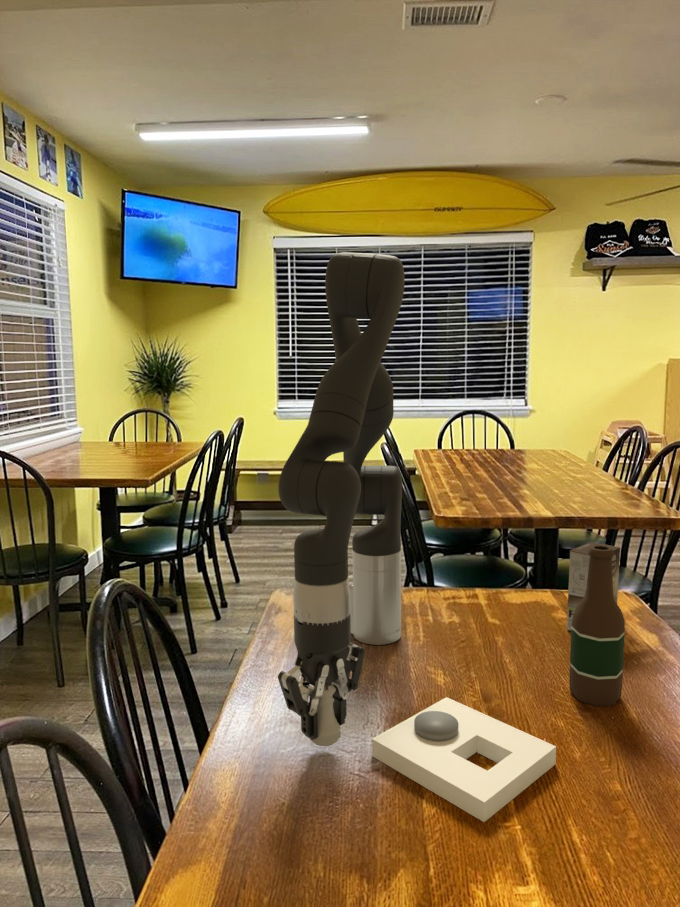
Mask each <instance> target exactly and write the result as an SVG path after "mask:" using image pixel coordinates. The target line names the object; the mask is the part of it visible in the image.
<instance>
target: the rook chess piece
mask: <svg viewBox="0 0 680 907" xmlns="http://www.w3.org/2000/svg"><path fill="white" fill-rule="evenodd" d="M312 687H313V688H315V686H312ZM335 691H336V688H335V687H334V686H333V682H329V683H327V684H326V685H325V686H324V690H323V695H322V697H321V698H319V701H318V706H317V711H316V713H318V738H316V739H314V740H311V739H310V738H309V740H310V741H311V742H312V744H314V745H316V746H320V747H328V746H329V747H330V746H333V745H334V744H336V743H337V742H338V741H339V739H340V738H341V737H342V734H341V726H340V725H339V723H338V722H337V719H336V718H335V715H334V710H333V702H334V698H333V696H332V695H333V694H334V693H335Z"/></svg>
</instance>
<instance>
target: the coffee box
mask: <svg viewBox="0 0 680 907" xmlns="http://www.w3.org/2000/svg"><path fill="white" fill-rule="evenodd" d="M598 545H602V546H607V547H610V548H611V549H613V551H614V556H613V557H612V573H613V594H614V600H615V601H616V603H617V604H618V598H619V596H618V595H619V594H618V593H619V580H620V576H619V575H620V559H621V558H620V557H621V547H620V546H615V545H610V544H609V545H608V544H605V543H596V542H592V541H590V542H588V543H585V544H583V545H580V546H577V547H575V548H573V549H570V550H569V565H568V566H569V568H568V590H567V592H568V594H567V597H568V598H567V611H566V612H567V618H566V630H567V631H570V632H571V625H572V617H573V613H574V611H575V609H576V607H577V605H578V604H579V603H580V601H581V600H582V599H583V598H584V596H585V592H586V588H587V579H588V570H589V560H590V555H589V554H588V551H589V549H590V547H592V546H598Z"/></svg>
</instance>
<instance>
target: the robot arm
mask: <svg viewBox="0 0 680 907" xmlns="http://www.w3.org/2000/svg"><path fill="white" fill-rule="evenodd" d="M324 279H325V282H324V284H325V285H324V286H325V287H324V288H325V300H326V305H327V306H326V307H327V312H328V317H329V319H328V320H329V325H330V330H331V337H332V342H333V348H334V356H335V357H334V358H335V361H334V363H333V364H332V365H331V366H330V367H329V368H328V370H327V371H326V373H324V375H323V377H321V380H320V381H319V383H318V386H317V388H316V393H315V396H314V400H313V405H312V408H311V411H310V415H309V417H308V418H309V419H308V422H307V426H306V428H305V429H304V431H303V433H302V434H301V435H300V437H299V439H298V441H297V443H296V445H295V447H294V448H293V450H292V452H291V453H290V455H289V456H288V458H287V459H286V461H285V464H284V465H283V467H282V470H281V472H280V474H279V479H278V485H277V486H278V489H277V490H278V496H279V500H280V502H281V504H282V506H283V507H284V508H285V509H286V510H287V511H289V512H291V513H295V514H301V515H302V514H303V515H315V516H321V517H323V516H324V517H326V521H325V522H326V523H325V526H324V527H323V528H319V529H312V530H307V531H304V532H301V533H299V535H297V536H296V538H295V540H294V544H293V546H294V547H293V555H294V556H293V558H294V560H293V562H294V566H293V567H294V585H293V592H292V594H293V596H292V597H293V601H292V602H293V631H294V632H293V634H294V635H293V636H294V645H295V647H296V651H297V655H296V659H295V662H294V666H293V667H291V669H289V670H288V671H287V672H285V671H284V670H282V671H279V673H278V675H277V680H278V682H279V686H280V689H281V692H282V695H283V698H284V700H285V701H284V702H285V705H286V707H287V709H288V710H290V711H291V712H293V713H295V714H296V715H298V716H299V717H300V725H301V726H300V731H301V733H302V734H303V735H304V736H305V737H307V738H308V739H309V740H310V739H311V740H314V739H316V738H318V713H316V711H317V706H318V701H319V698H321V697H322V695H323V690H324V686H325V685H326V684H327V683H329V682H333V686H334V687H335V688H336V691H335V693H334V694H333V695H332V696H333V698H334V702H333V710H334V715H335V718H336V719H337V722H338V723H339V725H340V727H341V726H342V725H345V723H346V719H347V712H348V711H347V709H348V708H347V707H348V706H347V699H348V698H349V695H350V694H349V693H350V692H352V691H356V690H357V689H358V687H359V682H360V678H361V672H362V667H363V663H364V657H365V654H366V649H365V648H364V647H363V646H360V645H358V644H356V643H354V642H351V639H352V635H353V638H354V639H355V640H356V641H358V642H360V643H363V644H367V645H375V646H378V645H380V646H381V645H388V644H392V643H395V642H397V641H398V640H400V638H401V636H402V538H401V531H402V530H401V528H402V527H401V521H402V520H401V519H402V517H401V516H402V515H401V514H402V503H403V502H402V500H403V477H402V472H401V470H400V469H399V467H398V466H396V465H363V464H364V462H365V460H366V457H367V456H368V454H369V453H370V451H371V450H372V449H373V448H374V446H376V445H377V443H378V442H379V441H380V440H381V439H382V437H384V435H385V433H386V432H387V431H388V430H389V427H390V426H391V424H392V421H393V418H394V412H395V411H394V385H393V381H392V378H391V376H390V374H389V372H388V371H387V368H385V366H384V364H383V363H382V362H381V361H382V358H383V356H384V354H385V351H386V349H387V346H388V343H389V340H390V338H391V335H392V332H393V330H394V327H395V324H396V322H397V318H398V316H399V313H400V310H401V307H402V302H403V298H404V292H405V268H404V264H403V262H402V260H401V259H400V258H398V257H397V256H394V255H389V254H379V253H377V254H376V253H367V252H366V253H363V252H348V251H347V252H344V251H343V252H337V253H334V254H332V255H331V257H330V258H329V260H328V262H327V266H326V269H325V278H324ZM358 319H362V320H369V322H368V324H367V326H366V327H365V329H364V330H363V332H362V331H361V328H360V326H359V323H358ZM339 453H342V454H343V461H333V460H331V461H329V460H327V459H328V458H329V457H330V456H332V455H335V454H339ZM356 515H363V516H365V515H369V516H375V515H376V516H377V515H379V516H382V515H383V516H384V517H383V519H382V520H381V521H379V522H377V523H376V524H375V525H372V526H370V527H367V528H364V529H360V530H359V531H357V532H356V533H354V535H353V536H352V540H351V541H352V542H351V543H352V546H351V547H352V584H351V585H350V584H349V544H350V543H349V542H350V538H351V537H350V536H351V532H352V528H353V523H354V519H355V516H356ZM350 674H351V676H350ZM314 686H315V688H313V687H314ZM311 740H310V741H311Z"/></svg>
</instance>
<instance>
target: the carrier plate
mask: <svg viewBox="0 0 680 907" xmlns="http://www.w3.org/2000/svg"><path fill="white" fill-rule="evenodd" d="M476 753H477V754H480V755H481V756H483V757H485V758H488V759H489V760H491V761H493V762H495V763H496V764H495V765H494V766H491V768H489V769H488V770H487V769H485V768H483V767H481V766H479V765H477V764H476V763H473V762H471V761H470V760H467V759H469V758H470V757H471V756H473V755H475V754H476ZM371 756H372V757H373V758H374V759H376V760H378V761H380V762H382V763H383V764H385V765H387V766H388V767H390V768H392V769H393V770H395V771H396V772H399V773H400V774H402V775H403V776H405V777H407V778H408V779H410V780H412V781H414V782H416V783H417V784H419V785H420V786H422V787H424V788H425V789H426V790H429V791H430V792H432V793H434V794H436V795H437V796H439V797H441V798H442V799H444V800H446V801H448V802H449V803H451V804H452V805H455V806H456V807H458V808H460V809H461V810H463V812H465V813H467V814H469V815H470V816H473V817H474V818H476V819H478V820H479V821H481V822H483V823H485V822H487V821H488V820H489V819H490V818H491V817H493V816H494V815H495V814H496V813H498V812H499V811H500V810H501V809H503V808H504V807H505V806H507V804H508V803H510V802H511V801H513V800H514V799H515V798H516V797H517V796H519V795H520V794H521V793H523V792H524V790H526V789H527V788H528V787H530V786H531V785H532V784H534V783H535V782H536V781H537V780H538V779H539V778H540V777H542V776H543V775H545V773H547V772H548V771H549V770H550V769H552V768H553V767H554V766H555V765H556V763H557V762H556V760H557V746H556V745H553V743H549V742H548V741H545V740H543V739H540V738H538V737H536V736H534V735H531V734H530V733H527V732H525V731H523V730H521V729H518V728H516V727H514V726H512V725H510V724H507V723H505V722H503V721H501V720H499V719H497V718H494V717H492V716H489V715H487V714H485V713H482V712H480V711H479V710H476V709H475V708H472V707H470V706H467V705H464V704H463V703H461V702H458V701H456V700H453V699H452V698H450V697H447V696H446V697H444V698H442V699H441V700H439V701H436V702H435V703H433V704H432V705H430V706H428V707H426V708H425V709H423V710H421V711H419V712H417V713H415V714H414V715H412V716H411V717H409V718H407V719H405V720H403V721H401V722H399V723H397V724H395V725H394V726H393V727H391V728H389V729H387V730H386V731H384V732H381V733H380V734H378V735H377V736H374V737H373V738H371Z"/></svg>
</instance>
